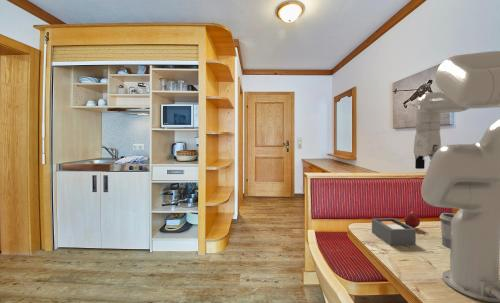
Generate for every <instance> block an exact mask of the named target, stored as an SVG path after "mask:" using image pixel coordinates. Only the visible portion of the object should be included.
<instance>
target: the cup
mask: <svg viewBox="0 0 500 303" xmlns="http://www.w3.org/2000/svg"><path fill="white" fill-rule="evenodd" d="M455 214H456V213H449V212H442V213H441V214H440V215H439V219H440V230H441V232H440V233H441V240H442V242H441V243H442V245H443V246H444V247H446V248H448V249H451V221H452V218H453V217H454V215H455Z"/></svg>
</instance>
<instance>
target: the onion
mask: <svg viewBox="0 0 500 303" xmlns="http://www.w3.org/2000/svg"><path fill="white" fill-rule="evenodd" d="M403 221H404V222H403V223H404V224H406V225H408V226H410V227H412V228H414V229H416V228H417V227H418V226H420V221H421V220H420V218H419V217H418V215H416V214H415V212H414V211H411V212H409V213H407V214H406V215H405V216H404V219H403Z"/></svg>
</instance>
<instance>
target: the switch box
mask: <svg viewBox="0 0 500 303" xmlns="http://www.w3.org/2000/svg"><path fill="white" fill-rule="evenodd" d="M381 221H392V222H394V223H395V224H397V225H399V226H401V227H403V228H405V229H390V228H388V227H387V226H385V225H383V224H382V223H381ZM416 231H417V229H416V228H412V227H410V226H408V225H406V224H405V222H402V221H400V220H399V219H396V218H393V217H388V218H387V217H386V218H385V217H384V218H371V233H372V234H374V235H375V236H376V237H378V238H379V239H381V240H382V241H383V242H385V243H386V244H387V245H389V246H416V243H417V242H416V238H417V237H416V236H417V234H416V233H417V232H416Z"/></svg>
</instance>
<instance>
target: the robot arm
mask: <svg viewBox="0 0 500 303" xmlns="http://www.w3.org/2000/svg"><path fill="white" fill-rule="evenodd" d="M435 84H436V86H437V87H438V89H439V90H440V91H435V92H427V93H424V94H422V96H420V97H419V98H418V99H417V100H416V110H415V112H416V117H415V118H416V119H415V120H416V122H415V135H414V140H413V141H414V143H413V155H414V159H415V161H414V162H415V165H414V166H415V169H417V170H418V169H419V170H423V169H425V162H426V159H424V158H425V157H429V160H430V161H429V164H428V167H427V170H426V173H425V175H424V177H423V180H422V181H421V182H422V183H421V187H420V193H421V197H422V199H423V201H424V202H425V203H426V204H427V205H429V206H432V207H434V208H435V207H437V208H442V209H443V208H444V209H445V208H446V209H458V210H457V211H456V213H454V214H455V215H454V217H453V218H452V221H451V248H450V249H449V250H450V254H449V257H450V258H449V259H450V260H449V269H448V270H447V269H446V270H445V271H443V272H442V279H443V281H444V282H445V283H446V284H447V285H448V286H449V287H450V288H452V289H454V290H455V291H457V292H459V293H462V294H463V295H465V296H468V297H470V298H473V299H477V300H480V301H484V302H490V303H500V279H499V278H500V276H499V275H500V118H498V119H497V120H496V121H494V122H492V124H490V125H489V126H488V127H487V128H486V131H484V133H483V136H482V137H481V139H480V140H479V141H478V142H476V143H469V144H467V143H466V144H465V143H464V144H462V143H461V144H459V143H457V144H447V145H444V146H442V143H441V141H442V140H441V115H442V113H460V112H465V111H467V110H470V109H488V108H489V109H491V108H492V109H493V108H500V50H492V51H484V52H483V51H482V52H474V53H465V54H464V53H463V54H458V55H453V56H450V57H448V58H446V59H444V61H442V63H441V64H440V65H439V66H438V68H437V71H436V73H435Z"/></svg>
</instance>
